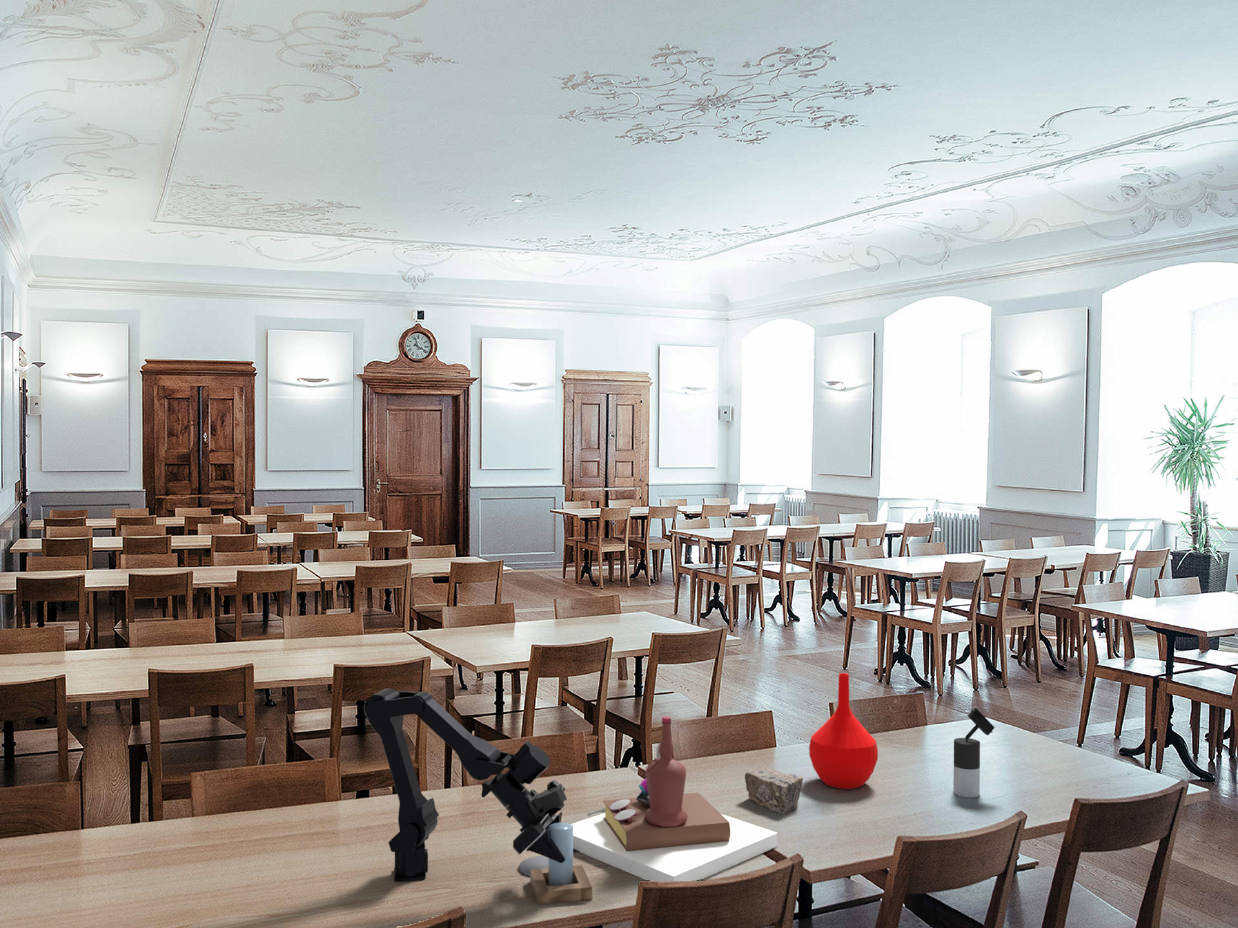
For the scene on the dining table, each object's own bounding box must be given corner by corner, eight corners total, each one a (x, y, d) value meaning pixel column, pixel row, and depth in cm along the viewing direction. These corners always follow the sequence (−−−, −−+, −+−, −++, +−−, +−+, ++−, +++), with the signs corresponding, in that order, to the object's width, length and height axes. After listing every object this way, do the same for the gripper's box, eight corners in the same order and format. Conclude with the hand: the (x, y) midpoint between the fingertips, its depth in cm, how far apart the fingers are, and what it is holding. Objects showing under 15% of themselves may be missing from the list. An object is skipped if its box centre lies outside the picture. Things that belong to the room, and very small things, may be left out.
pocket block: (537, 904, 201) (537, 891, 201) (530, 881, 212) (530, 869, 212) (592, 899, 203) (592, 886, 203) (582, 877, 214) (582, 865, 214)
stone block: (807, 807, 258) (808, 777, 258) (784, 815, 252) (784, 784, 252) (766, 793, 269) (766, 764, 269) (742, 800, 263) (742, 770, 263)
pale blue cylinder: (550, 896, 205) (550, 832, 205) (546, 886, 210) (547, 823, 209) (574, 894, 206) (575, 830, 206) (570, 884, 211) (570, 821, 211)
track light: (972, 809, 266) (1022, 753, 268) (930, 766, 264) (981, 709, 266) (960, 801, 273) (1009, 746, 275) (918, 758, 270) (968, 703, 273)
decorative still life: (651, 803, 261) (651, 684, 260) (777, 847, 232) (778, 713, 232) (546, 839, 236) (547, 707, 236) (673, 893, 208) (674, 742, 207)
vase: (825, 768, 290) (826, 664, 289) (888, 781, 279) (888, 672, 279) (797, 785, 275) (798, 675, 274) (861, 799, 264) (862, 684, 264)
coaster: (522, 878, 213) (522, 876, 213) (516, 860, 223) (516, 857, 223) (569, 875, 215) (569, 872, 215) (561, 856, 225) (561, 854, 225)
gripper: (528, 786, 199) (582, 848, 197) (555, 759, 217) (605, 815, 215) (490, 823, 201) (543, 884, 199) (520, 793, 219) (569, 848, 217)
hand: (567, 856), depth 207 cm, fingers closed on pale blue cylinder, 5 cm apart
